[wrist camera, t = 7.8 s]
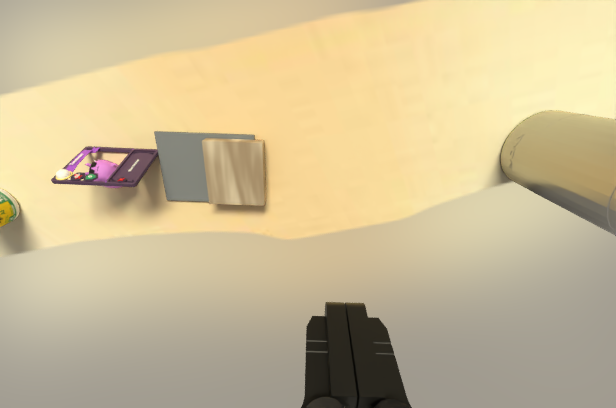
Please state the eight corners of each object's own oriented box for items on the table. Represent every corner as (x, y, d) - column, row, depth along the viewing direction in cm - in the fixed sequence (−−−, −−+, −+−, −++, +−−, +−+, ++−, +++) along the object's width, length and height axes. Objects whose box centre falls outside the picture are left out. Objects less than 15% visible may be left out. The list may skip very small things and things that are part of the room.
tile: (262, 143, 33) (201, 140, 33) (264, 205, 36) (209, 203, 36) (264, 139, 35) (206, 137, 35) (266, 200, 38) (213, 198, 38)
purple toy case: (131, 179, 30) (45, 175, 30) (148, 213, 34) (72, 209, 34) (156, 144, 35) (83, 141, 35) (169, 177, 39) (102, 174, 39)
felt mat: (254, 134, 35) (253, 135, 34) (257, 202, 38) (256, 203, 38) (155, 131, 35) (154, 131, 34) (168, 199, 38) (166, 200, 38)
